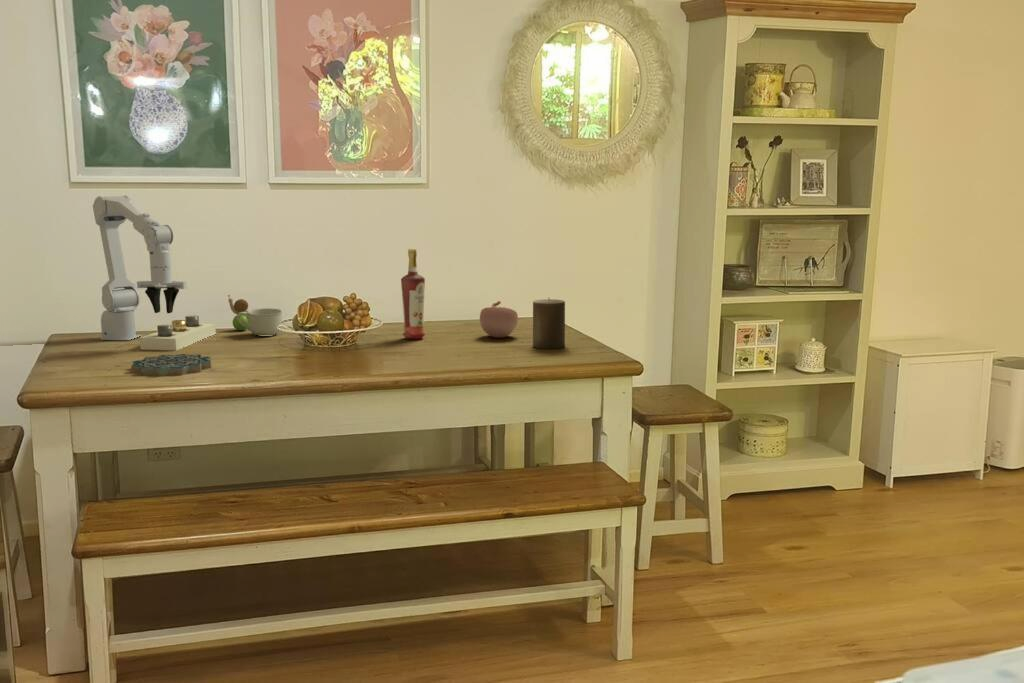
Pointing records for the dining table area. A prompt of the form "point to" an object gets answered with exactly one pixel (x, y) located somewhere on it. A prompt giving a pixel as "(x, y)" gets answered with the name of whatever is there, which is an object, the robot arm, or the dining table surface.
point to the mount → (177, 338)
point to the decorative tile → (171, 365)
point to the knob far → (192, 321)
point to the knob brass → (178, 325)
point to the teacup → (262, 320)
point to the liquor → (413, 299)
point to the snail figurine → (237, 308)
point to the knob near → (164, 330)
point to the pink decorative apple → (498, 320)
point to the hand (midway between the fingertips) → (163, 312)
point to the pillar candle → (549, 323)
